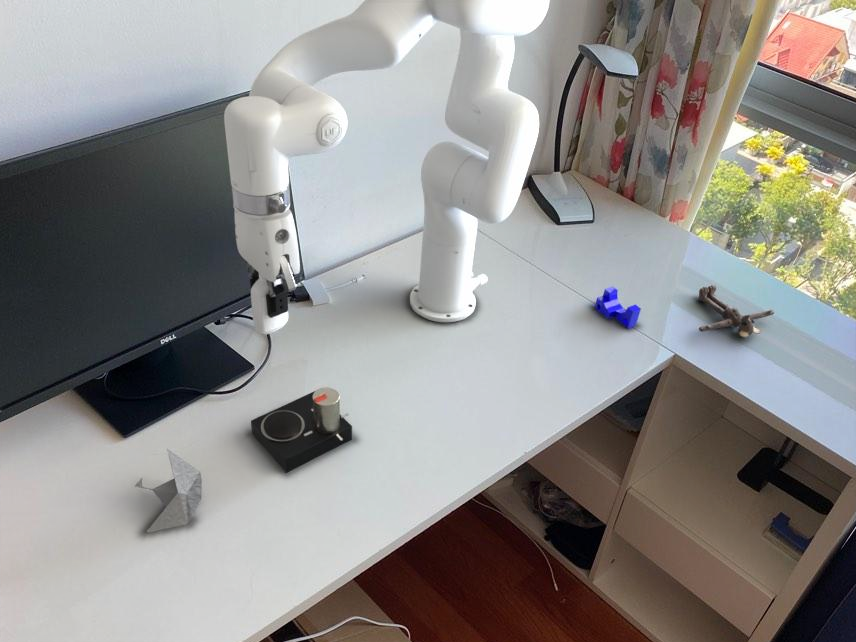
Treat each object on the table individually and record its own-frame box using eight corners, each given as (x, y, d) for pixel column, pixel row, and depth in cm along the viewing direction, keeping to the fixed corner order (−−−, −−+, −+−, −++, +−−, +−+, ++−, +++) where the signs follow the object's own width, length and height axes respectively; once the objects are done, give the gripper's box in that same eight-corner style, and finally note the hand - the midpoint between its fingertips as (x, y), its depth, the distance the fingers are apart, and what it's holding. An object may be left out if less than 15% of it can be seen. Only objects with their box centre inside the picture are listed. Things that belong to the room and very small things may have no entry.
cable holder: (594, 307, 157) (598, 291, 154) (607, 303, 158) (612, 286, 155) (622, 330, 152) (627, 313, 149) (635, 325, 153) (641, 308, 151)
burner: (289, 406, 127) (289, 403, 126) (313, 430, 123) (312, 427, 123) (252, 423, 123) (252, 420, 123) (275, 448, 120) (275, 445, 120)
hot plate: (322, 401, 132) (321, 386, 130) (363, 442, 126) (363, 428, 124) (252, 434, 126) (250, 419, 124) (292, 479, 120) (291, 465, 118)
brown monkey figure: (742, 276, 163) (794, 312, 152) (737, 295, 165) (787, 331, 155) (670, 292, 157) (719, 331, 146) (665, 311, 159) (713, 350, 149)
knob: (330, 412, 126) (329, 382, 122) (344, 426, 124) (344, 397, 120) (308, 422, 124) (307, 392, 120) (323, 437, 122) (322, 407, 118)
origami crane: (191, 540, 109) (121, 527, 107) (190, 542, 115) (124, 530, 113) (212, 454, 112) (144, 440, 110) (210, 460, 118) (146, 447, 116)
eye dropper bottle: (293, 330, 122) (289, 263, 113) (257, 337, 120) (250, 270, 111) (285, 313, 124) (281, 246, 116) (249, 320, 122) (242, 253, 114)
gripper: (319, 214, 104) (322, 326, 117) (253, 162, 113) (262, 271, 126) (269, 231, 101) (278, 344, 113) (205, 176, 110) (219, 287, 122)
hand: (269, 305), depth 119 cm, fingers closed on eye dropper bottle, 3 cm apart
